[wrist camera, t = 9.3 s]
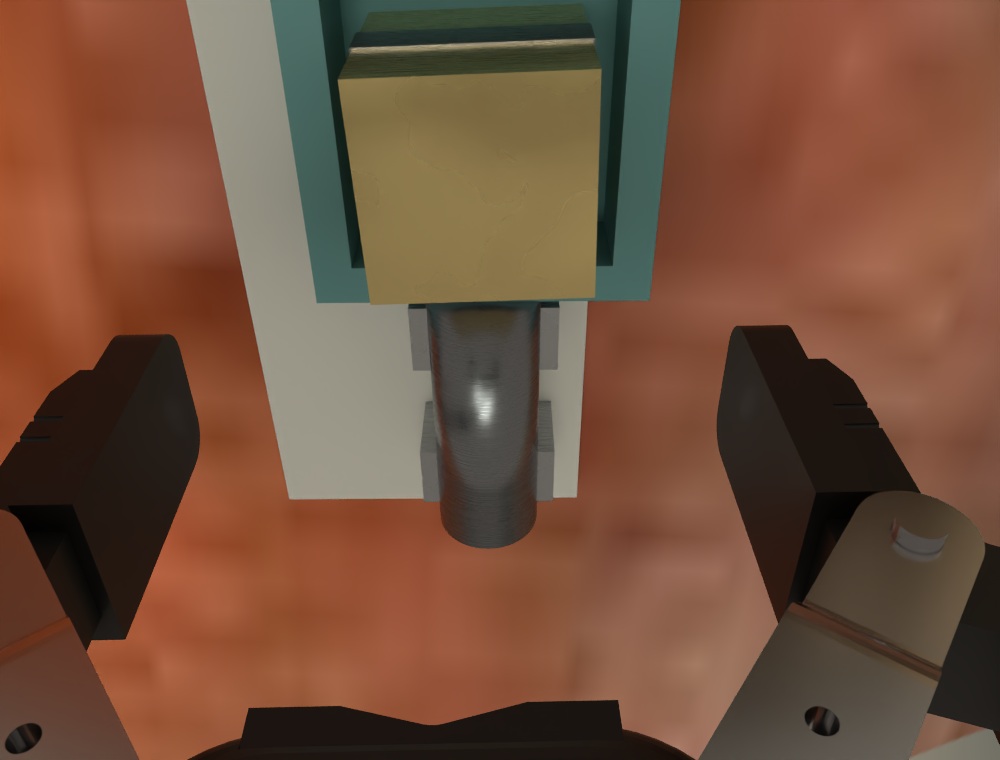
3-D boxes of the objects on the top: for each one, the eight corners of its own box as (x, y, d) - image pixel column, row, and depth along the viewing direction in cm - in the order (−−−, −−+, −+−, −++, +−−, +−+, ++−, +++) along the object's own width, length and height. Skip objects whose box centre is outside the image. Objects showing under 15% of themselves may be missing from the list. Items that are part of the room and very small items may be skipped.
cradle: (334, 247, 25) (316, 303, 23) (289, -88, 20) (260, -64, 18) (635, 245, 25) (649, 300, 23) (665, -93, 20) (687, -68, 18)
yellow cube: (366, 9, 21) (334, 76, 17) (583, 1, 21) (604, 65, 17) (390, 209, 24) (368, 307, 20) (580, 202, 24) (596, 299, 20)
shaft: (413, 247, 25) (400, 323, 22) (555, 246, 25) (563, 322, 22) (430, 460, 30) (421, 549, 27) (548, 459, 30) (554, 548, 27)
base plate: (293, 483, 31) (289, 499, 31) (39, -788, 15) (18, -811, 14) (574, 481, 31) (576, 497, 31) (644, -798, 15) (651, -822, 14)
